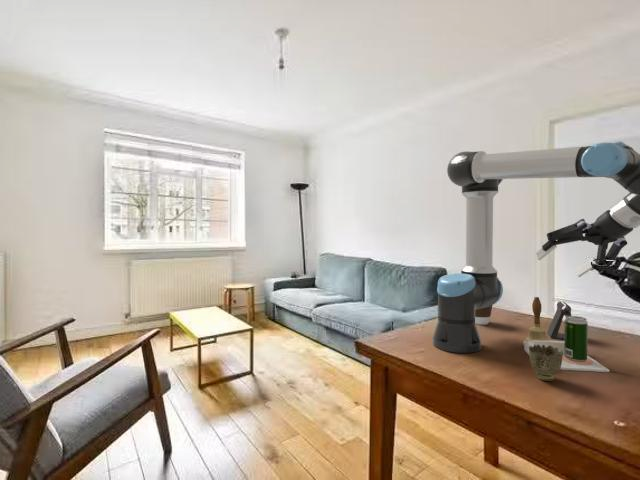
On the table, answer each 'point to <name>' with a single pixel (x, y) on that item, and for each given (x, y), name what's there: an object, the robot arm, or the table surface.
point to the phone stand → (558, 321)
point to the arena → (566, 364)
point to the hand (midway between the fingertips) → (557, 265)
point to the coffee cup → (483, 315)
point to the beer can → (576, 338)
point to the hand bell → (536, 323)
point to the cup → (545, 361)
